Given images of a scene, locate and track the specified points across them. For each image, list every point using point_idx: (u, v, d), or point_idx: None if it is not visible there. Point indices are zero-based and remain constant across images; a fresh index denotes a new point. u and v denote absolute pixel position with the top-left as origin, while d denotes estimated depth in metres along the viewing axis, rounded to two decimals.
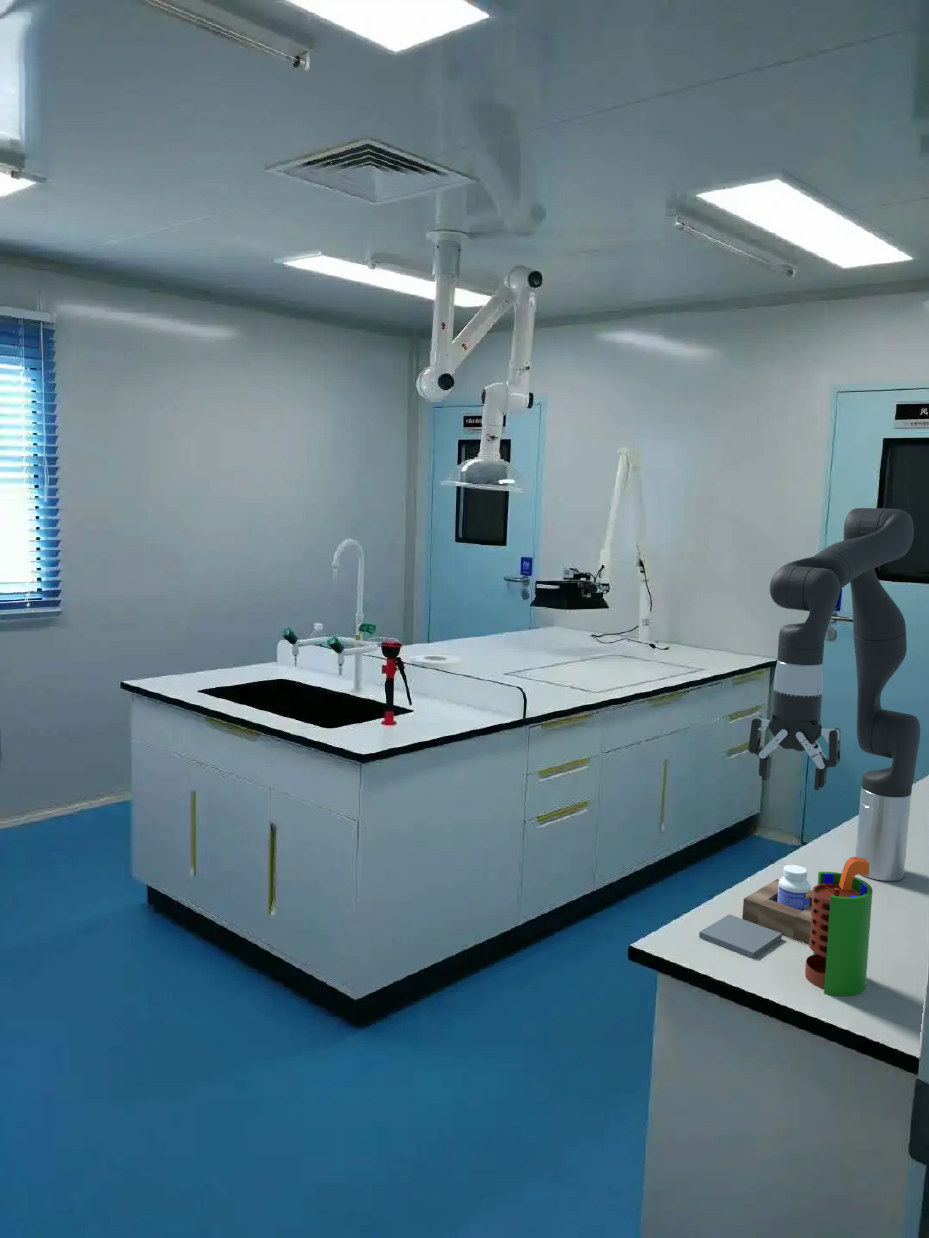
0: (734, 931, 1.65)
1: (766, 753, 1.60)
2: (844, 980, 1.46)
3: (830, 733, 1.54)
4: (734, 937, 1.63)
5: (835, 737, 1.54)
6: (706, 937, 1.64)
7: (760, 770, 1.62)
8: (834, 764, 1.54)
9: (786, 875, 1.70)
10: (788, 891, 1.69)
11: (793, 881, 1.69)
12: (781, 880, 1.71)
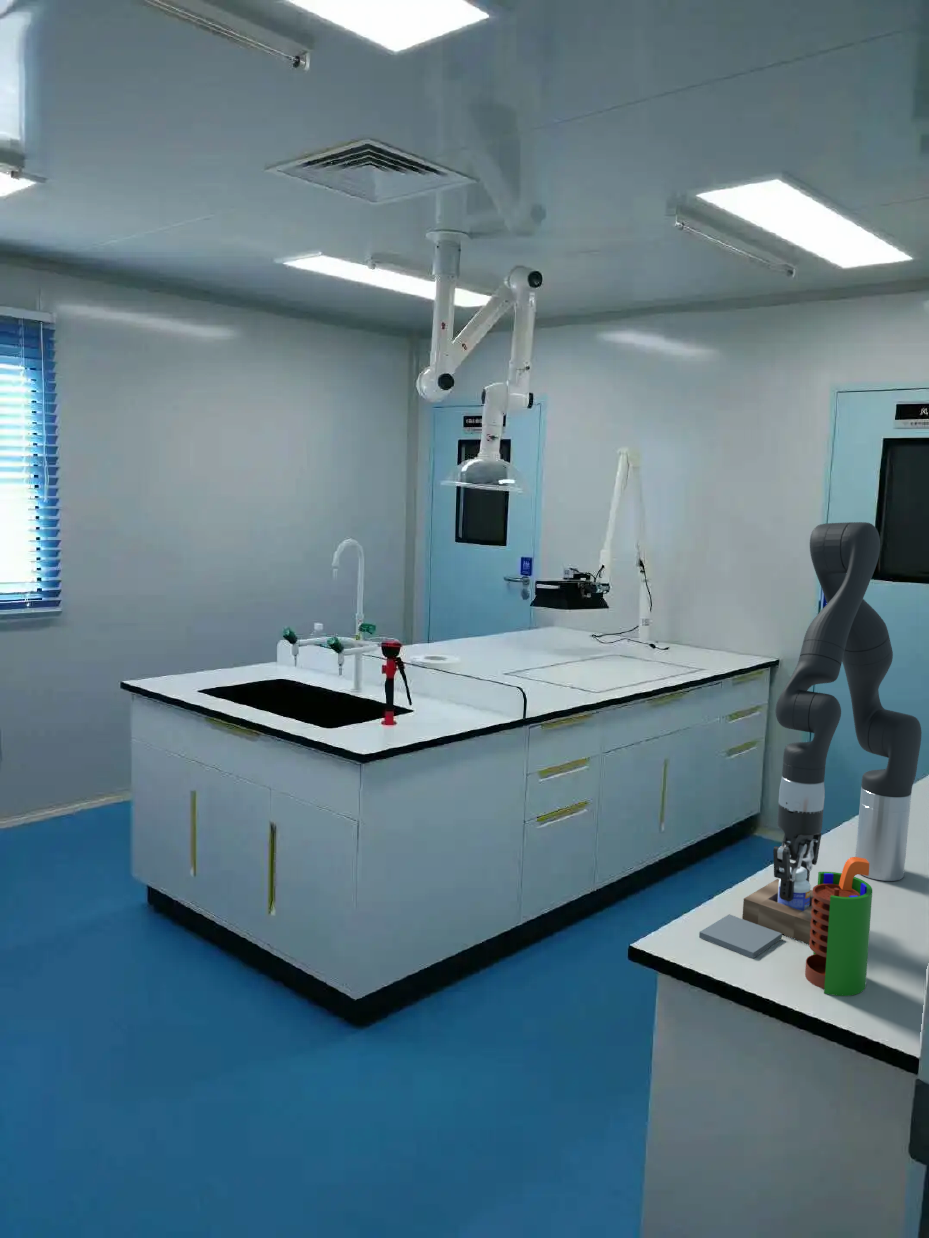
0: (734, 931, 1.65)
1: None
2: (844, 980, 1.46)
3: (819, 835, 1.73)
4: (734, 937, 1.63)
5: (820, 837, 1.74)
6: (706, 937, 1.64)
7: (788, 893, 1.68)
8: (816, 861, 1.74)
9: None
10: None
11: None
12: None
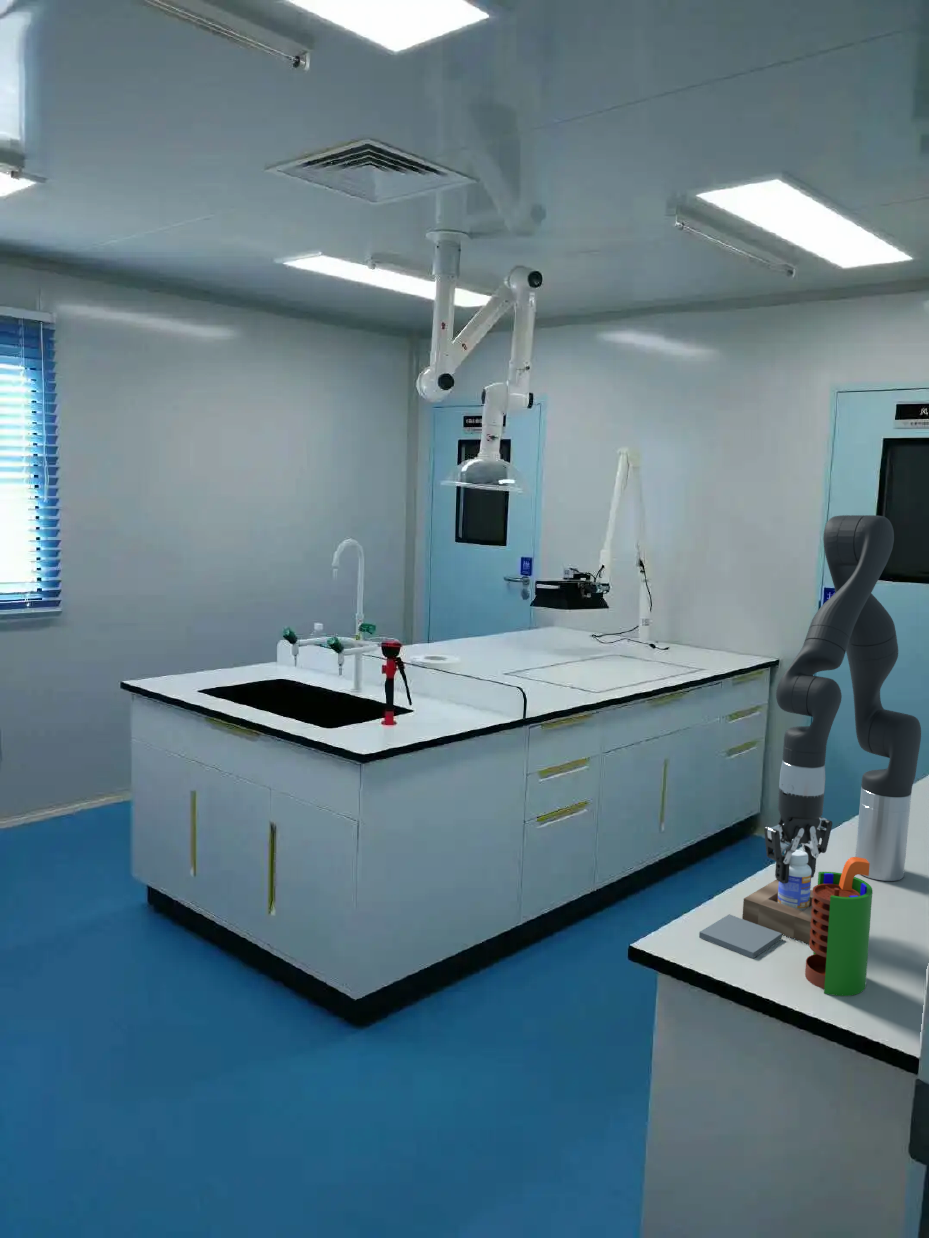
0: (734, 931, 1.65)
1: (789, 857, 1.68)
2: (844, 980, 1.46)
3: (828, 823, 1.71)
4: (734, 937, 1.63)
5: (831, 826, 1.71)
6: (706, 937, 1.64)
7: (782, 875, 1.69)
8: (825, 850, 1.72)
9: None
10: None
11: (790, 864, 1.69)
12: None
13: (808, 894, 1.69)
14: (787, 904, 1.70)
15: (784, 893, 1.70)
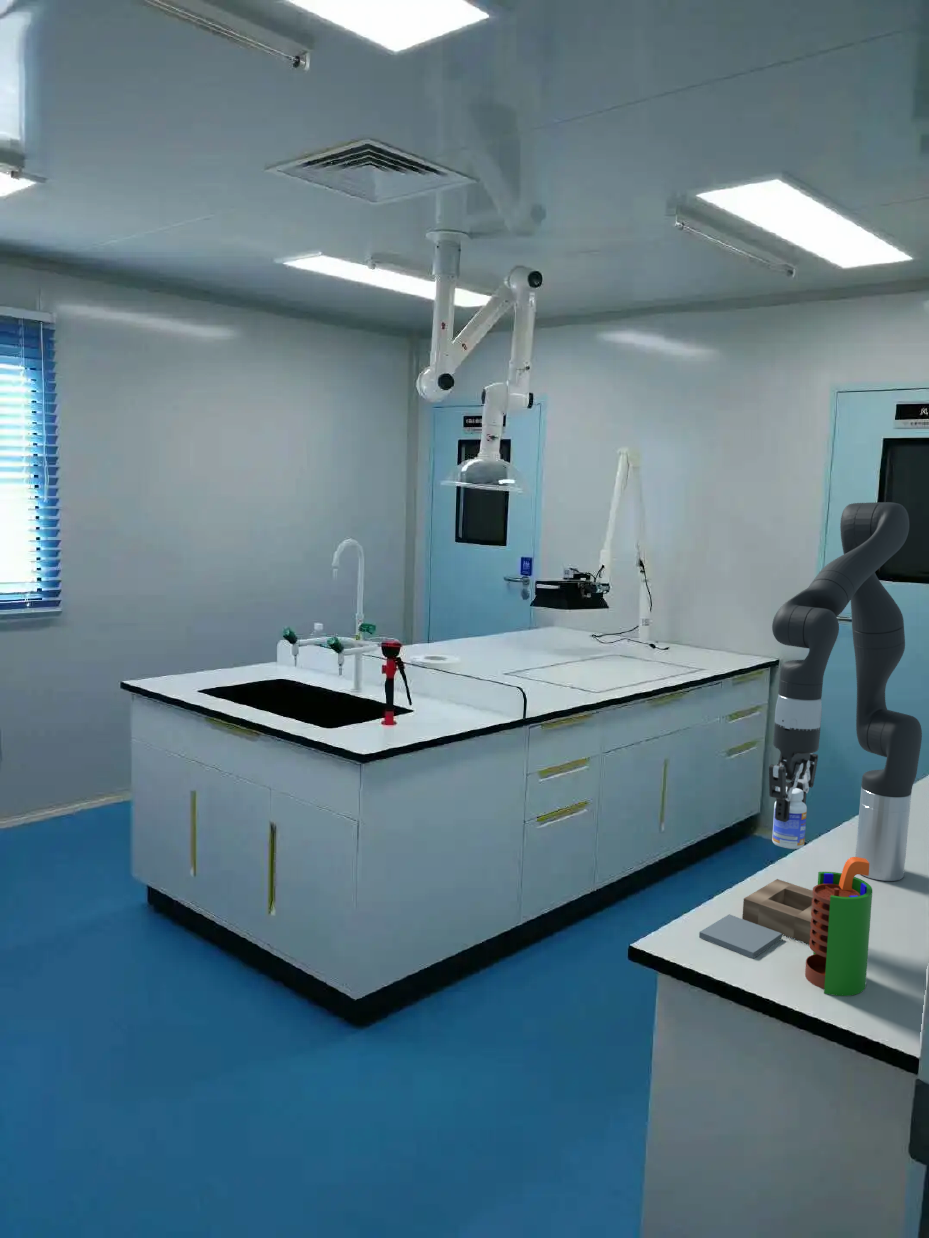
0: (734, 931, 1.65)
1: None
2: (844, 980, 1.46)
3: (815, 757, 1.70)
4: (734, 937, 1.63)
5: (817, 760, 1.70)
6: (706, 937, 1.64)
7: (784, 813, 1.64)
8: (813, 784, 1.70)
9: None
10: None
11: None
12: None
13: None
14: (787, 843, 1.66)
15: (784, 832, 1.66)
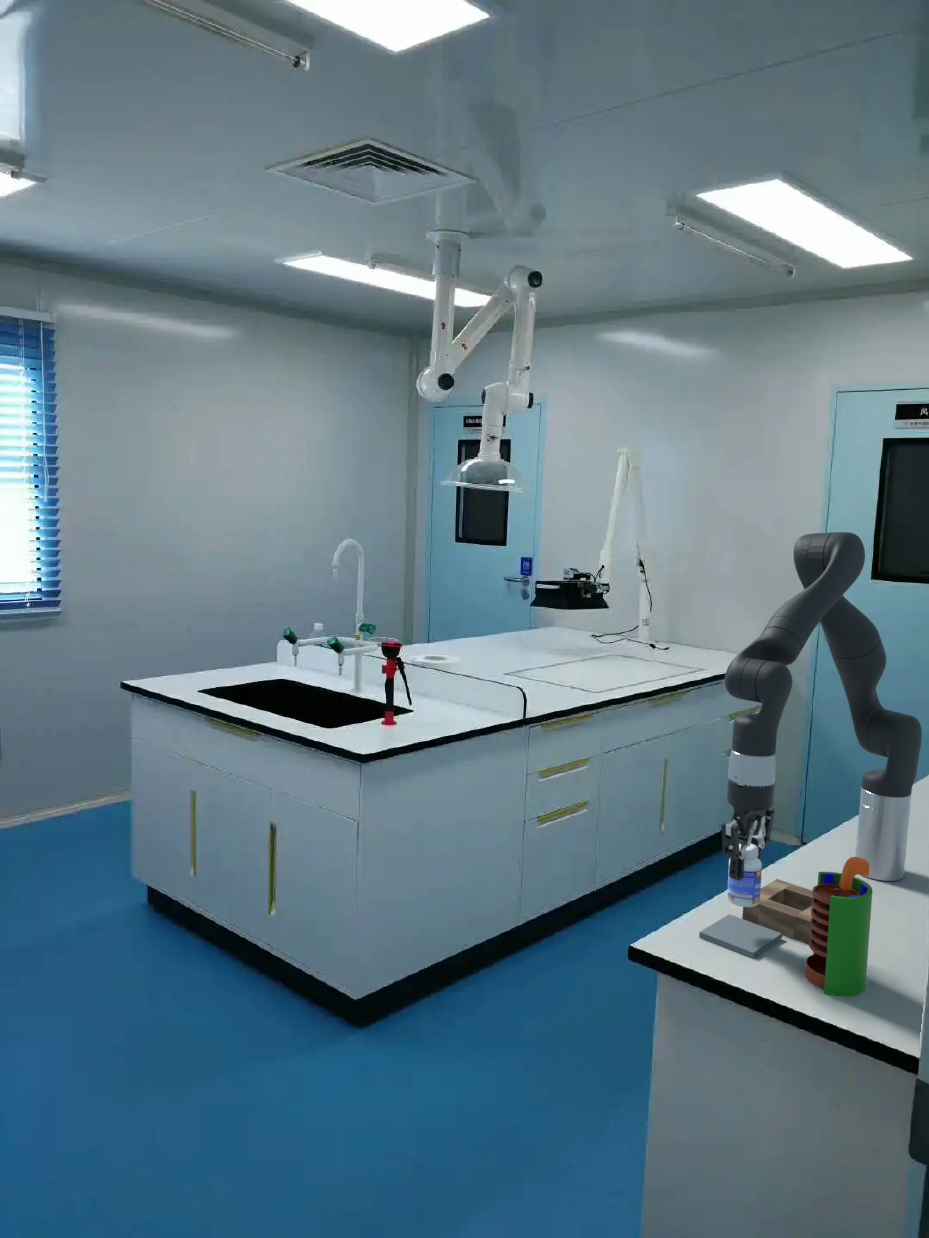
0: (734, 931, 1.65)
1: None
2: (844, 980, 1.46)
3: (771, 811, 1.65)
4: (734, 937, 1.63)
5: (773, 814, 1.66)
6: (706, 937, 1.64)
7: (738, 871, 1.60)
8: (769, 839, 1.66)
9: None
10: None
11: None
12: None
13: (760, 887, 1.62)
14: (742, 901, 1.61)
15: (738, 890, 1.61)
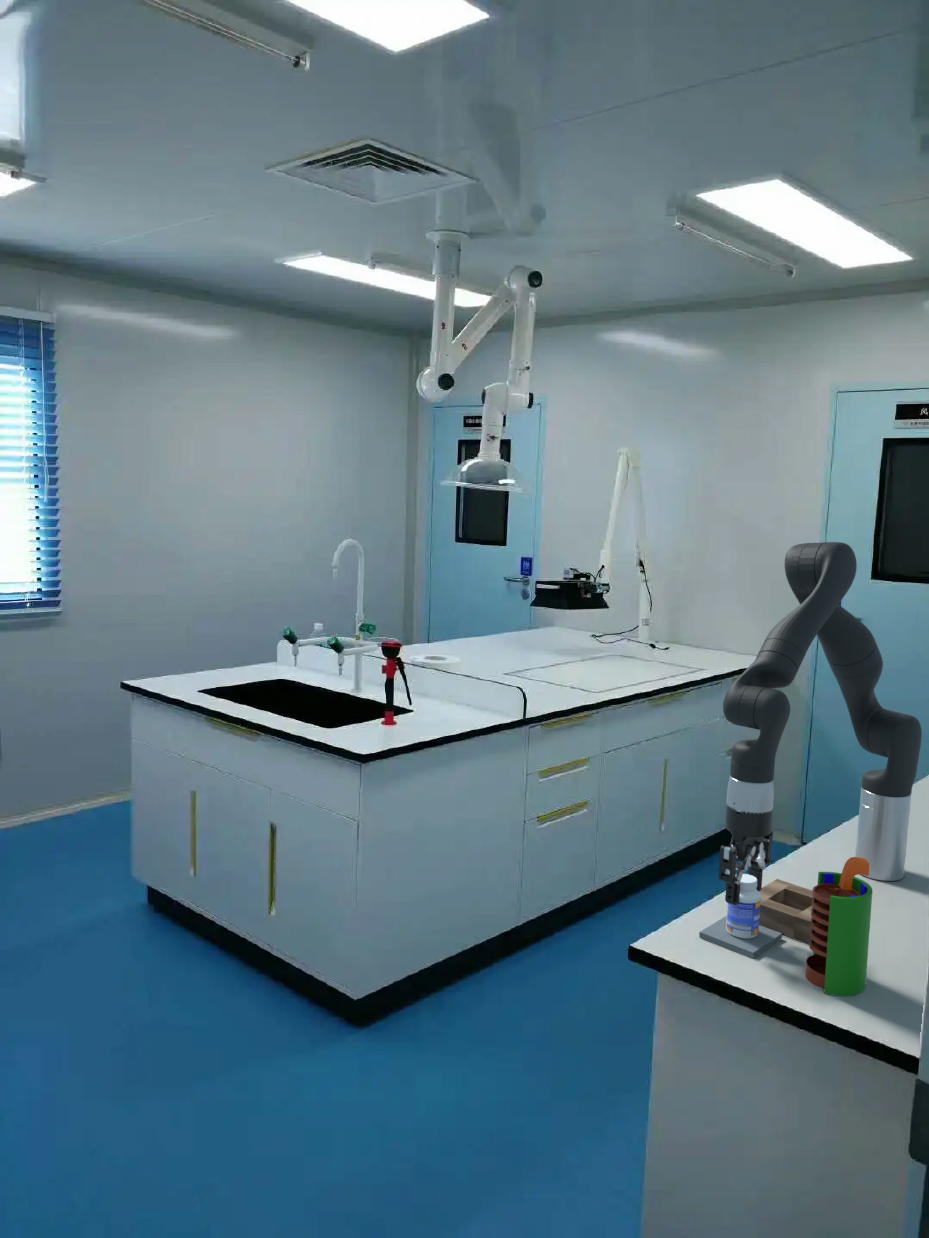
0: None
1: (741, 877, 1.60)
2: (844, 980, 1.46)
3: (770, 834, 1.66)
4: (734, 937, 1.63)
5: (772, 836, 1.66)
6: (706, 937, 1.64)
7: (734, 896, 1.60)
8: (770, 860, 1.67)
9: None
10: None
11: (742, 891, 1.62)
12: None
13: None
14: (740, 932, 1.62)
15: (737, 922, 1.62)
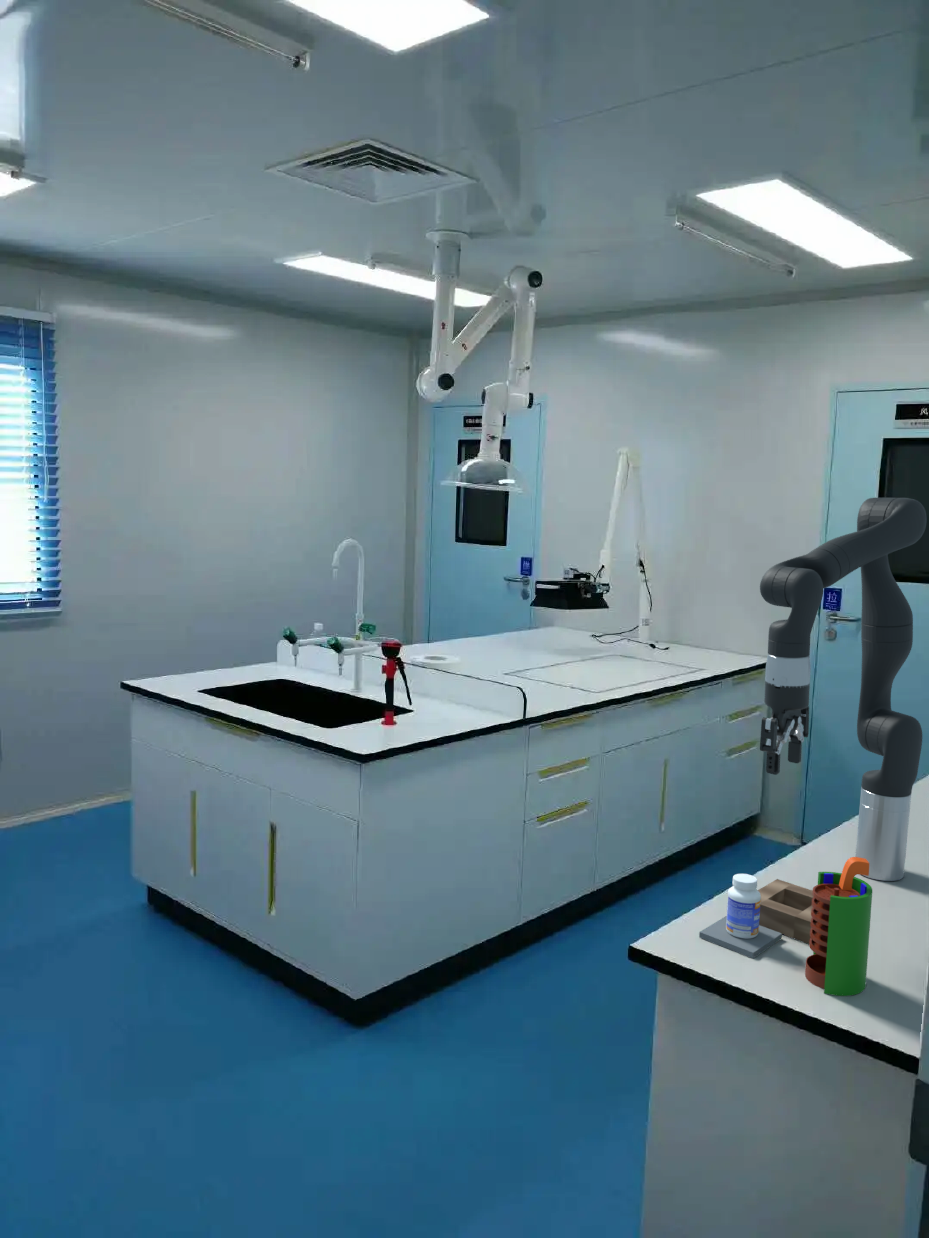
0: None
1: (780, 748, 1.69)
2: (844, 980, 1.46)
3: (806, 709, 1.75)
4: (734, 937, 1.63)
5: (808, 711, 1.75)
6: (706, 937, 1.64)
7: (774, 766, 1.69)
8: None
9: (735, 884, 1.63)
10: (737, 901, 1.62)
11: (742, 891, 1.62)
12: (730, 890, 1.64)
13: None
14: (740, 932, 1.62)
15: (737, 922, 1.62)
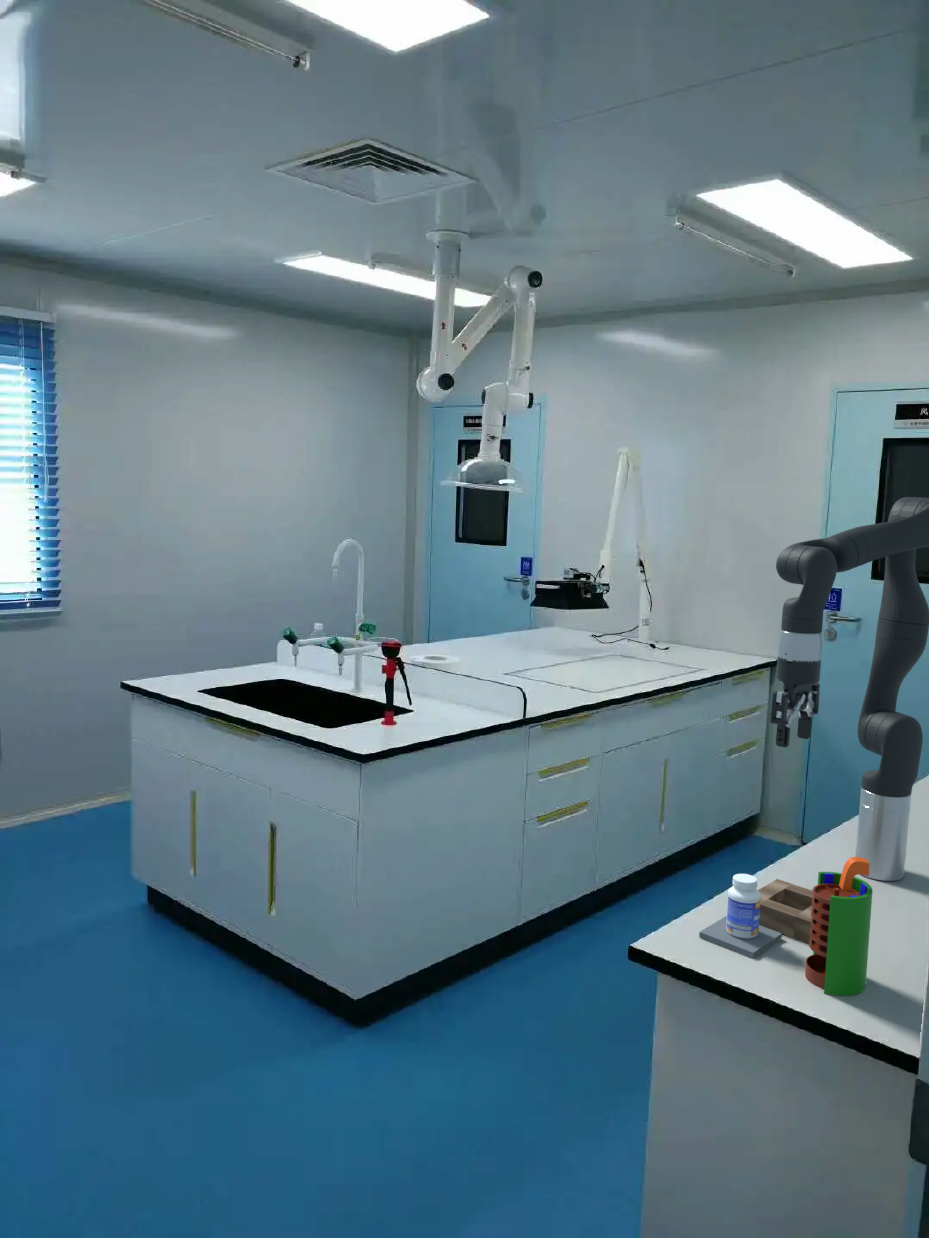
0: None
1: (790, 721, 1.73)
2: (844, 980, 1.46)
3: (817, 686, 1.79)
4: (734, 937, 1.63)
5: (819, 688, 1.80)
6: (706, 937, 1.64)
7: (784, 739, 1.73)
8: (817, 711, 1.81)
9: (735, 884, 1.63)
10: (737, 901, 1.62)
11: (742, 891, 1.62)
12: (730, 890, 1.64)
13: None
14: (740, 932, 1.62)
15: (737, 922, 1.62)
